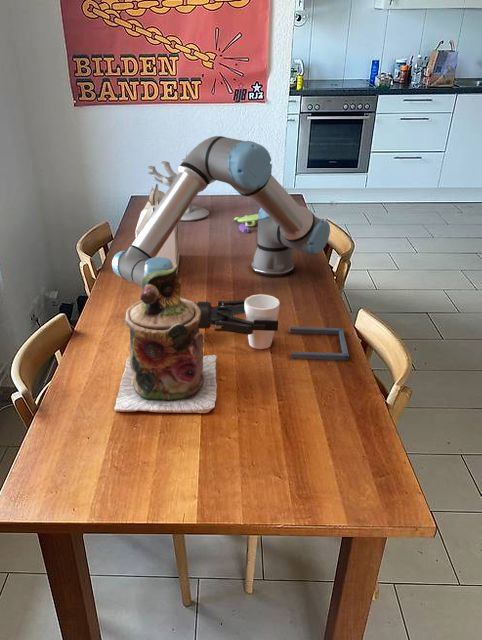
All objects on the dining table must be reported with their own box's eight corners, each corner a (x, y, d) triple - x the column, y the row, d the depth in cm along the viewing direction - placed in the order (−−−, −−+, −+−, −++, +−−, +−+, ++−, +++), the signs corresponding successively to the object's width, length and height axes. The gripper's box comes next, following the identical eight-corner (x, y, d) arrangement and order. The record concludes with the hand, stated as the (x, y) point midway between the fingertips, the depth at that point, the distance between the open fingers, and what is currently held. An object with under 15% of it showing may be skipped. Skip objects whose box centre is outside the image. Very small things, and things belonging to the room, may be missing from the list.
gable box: (145, 255, 222) (139, 181, 207) (179, 255, 222) (176, 180, 207) (139, 279, 204) (132, 199, 188) (176, 278, 203) (173, 198, 188)
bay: (291, 358, 157) (291, 353, 156) (289, 331, 170) (289, 326, 169) (348, 360, 156) (349, 355, 155) (342, 332, 169) (342, 328, 168)
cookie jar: (127, 360, 158) (115, 248, 140) (217, 361, 157) (217, 247, 139) (112, 415, 137) (96, 291, 119) (216, 415, 136) (216, 290, 119)
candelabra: (157, 203, 279) (154, 143, 264) (230, 205, 275) (230, 144, 260) (142, 226, 251) (137, 161, 236) (222, 229, 246) (222, 162, 232)
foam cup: (241, 336, 168) (242, 295, 161) (273, 334, 168) (275, 293, 161) (246, 352, 160) (247, 310, 153) (279, 351, 161) (282, 308, 153)
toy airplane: (293, 236, 237) (294, 223, 234) (228, 233, 242) (229, 220, 239) (296, 222, 252) (297, 209, 249) (235, 219, 257) (236, 206, 254)
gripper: (200, 309, 172) (276, 311, 170) (192, 346, 154) (277, 349, 152) (199, 286, 168) (277, 287, 166) (191, 321, 150) (279, 323, 148)
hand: (277, 317), depth 159 cm, fingers closed on foam cup, 9 cm apart
